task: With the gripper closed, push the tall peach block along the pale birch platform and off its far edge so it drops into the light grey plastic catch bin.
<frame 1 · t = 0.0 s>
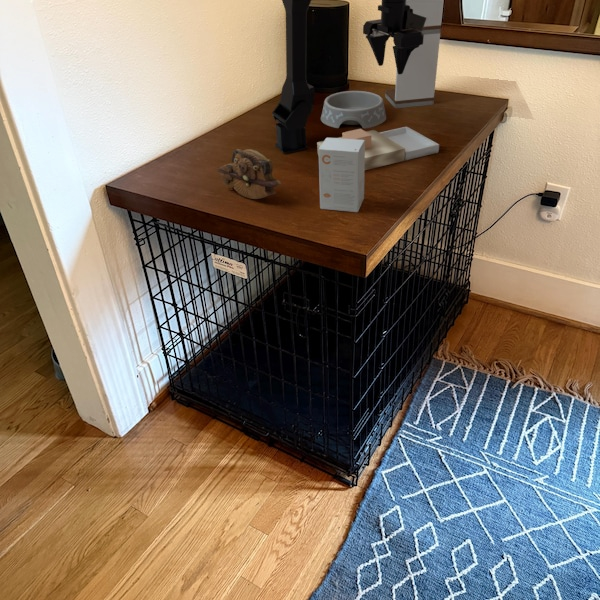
hand: (390, 69, 142), 15 cm above the table, tool pointing down, fingers open, 9 cm apart
tall peach block: (356, 146, 133), point 3 cm above the table, touching platform
catch bin: (405, 146, 139), on the table
display case: (408, 101, 167), on the table
dog bowl: (353, 119, 158), on the table
wooden carving: (250, 197, 122), on the table
platform: (359, 157, 135), on the table
small box: (342, 205, 117), on the table
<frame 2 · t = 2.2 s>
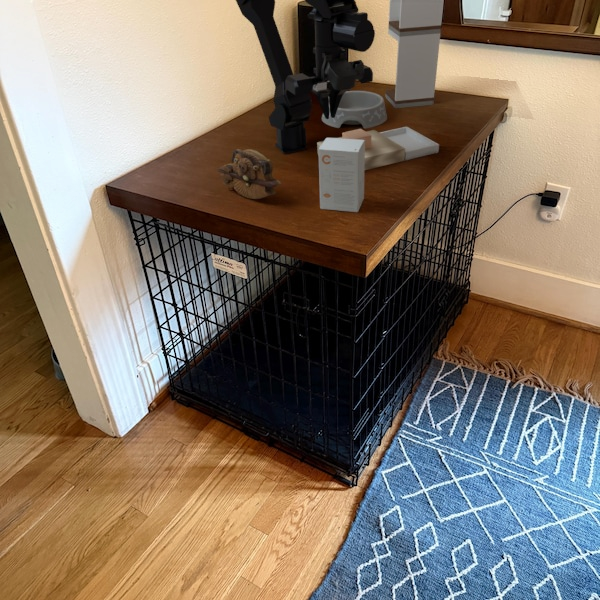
hand: (329, 118, 126), 11 cm above the table, tool pointing down, fingers closed
nothing on the table moved.
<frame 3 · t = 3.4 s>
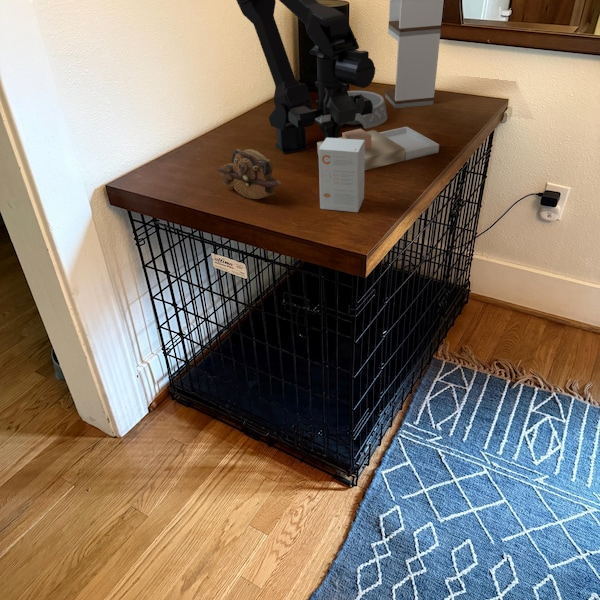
hand: (331, 147, 131), 4 cm above the table, tool pointing down, fingers closed
nothing on the table moved.
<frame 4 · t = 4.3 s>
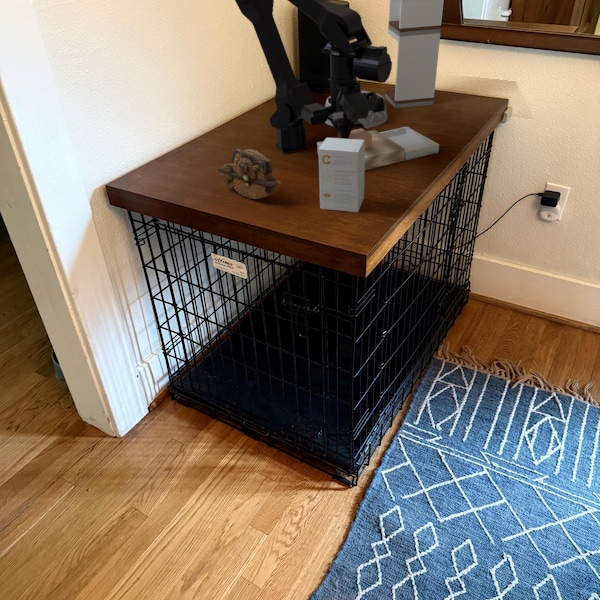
hand: (343, 144, 131), 4 cm above the table, tool pointing down, fingers closed
tall peach block: (357, 146, 133), point 3 cm above the table, touching gripper, platform
everything else where it was.
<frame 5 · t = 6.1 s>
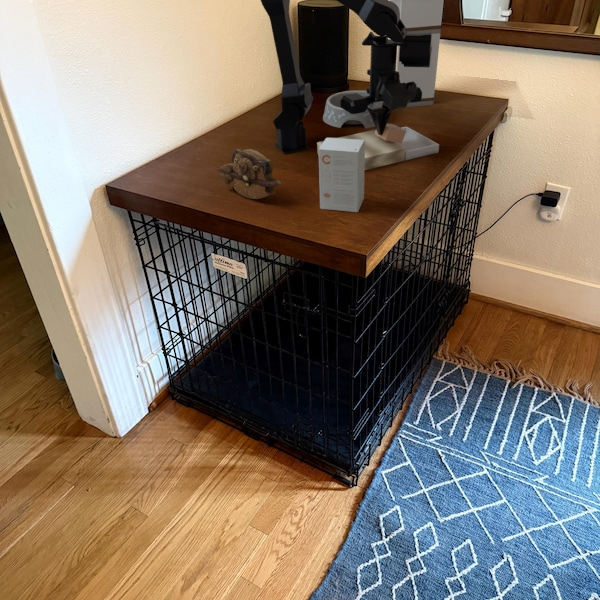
hand: (380, 134, 134), 5 cm above the table, tool pointing down, fingers closed
tall peach block: (388, 138, 136), point 3 cm above the table, tilted 20°, touching gripper, platform
everything else where it was.
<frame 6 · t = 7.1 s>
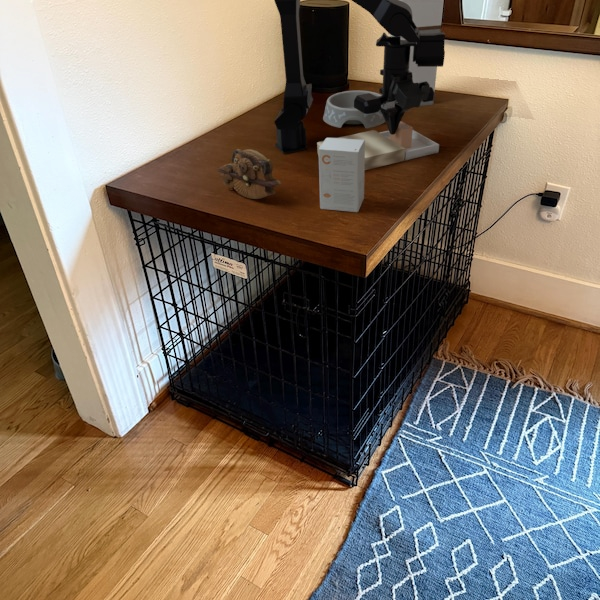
hand: (392, 134, 136), 4 cm above the table, tool pointing down, fingers closed
tall peach block: (395, 136, 137), point 3 cm above the table, tilted 90°, touching catch bin, gripper
everything else where it was.
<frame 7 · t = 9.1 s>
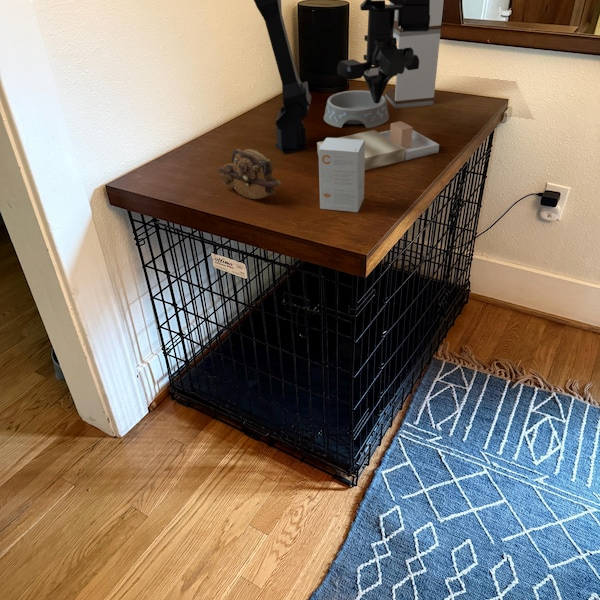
hand: (376, 103, 133), 11 cm above the table, tool pointing down, fingers closed
tall peach block: (395, 136, 137), point 3 cm above the table, tilted 90°, touching catch bin
everything else where it was.
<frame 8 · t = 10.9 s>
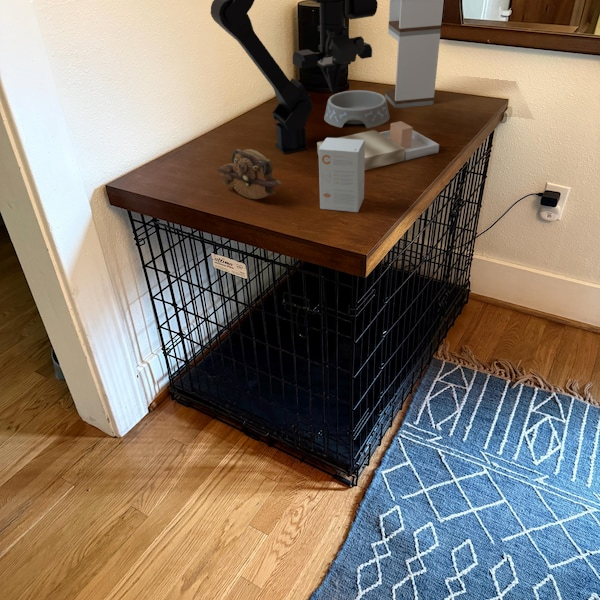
hand: (333, 91, 138), 12 cm above the table, tool pointing down, fingers closed
at the end: tall peach block inside the target area on the catch bin (3.0 cm from its centre), point 3.1 cm above the catch bin's base; tall peach block touching catch bin; tall peach block moved 11.0 cm from its start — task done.
